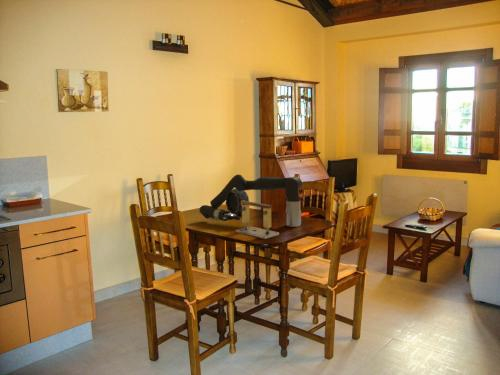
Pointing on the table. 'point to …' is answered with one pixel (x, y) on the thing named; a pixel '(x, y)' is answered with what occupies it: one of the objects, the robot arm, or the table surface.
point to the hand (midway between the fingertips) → (239, 218)
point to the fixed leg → (267, 219)
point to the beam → (256, 204)
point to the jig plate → (257, 232)
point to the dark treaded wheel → (236, 201)
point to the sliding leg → (245, 214)
